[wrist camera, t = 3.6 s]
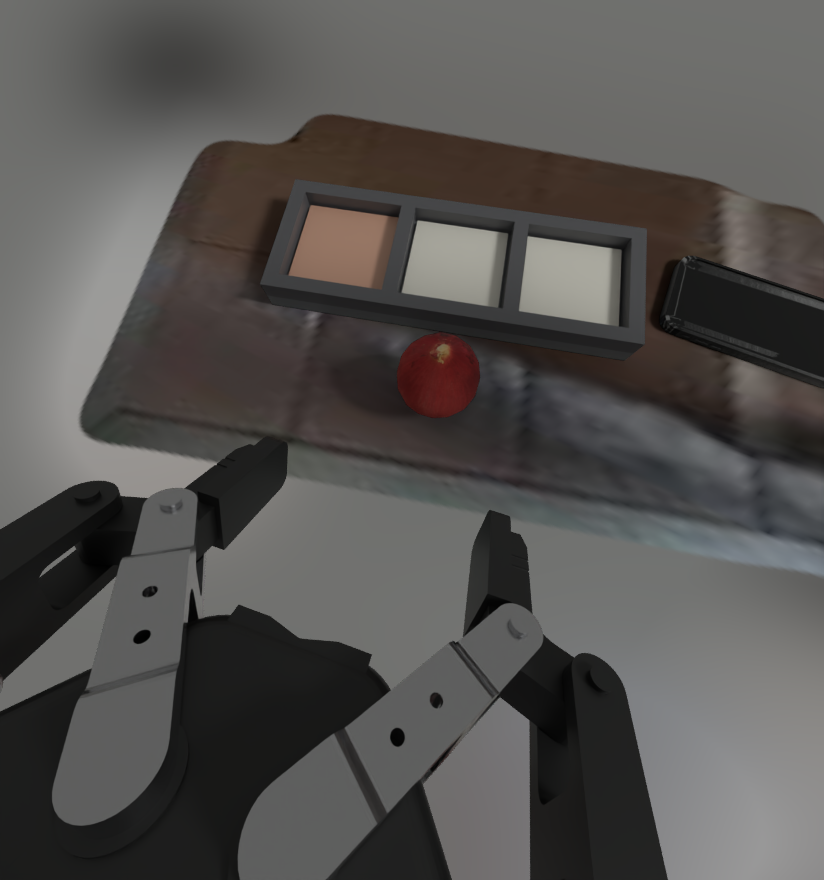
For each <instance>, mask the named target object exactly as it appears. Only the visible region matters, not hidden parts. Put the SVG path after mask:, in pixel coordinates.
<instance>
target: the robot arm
mask: <svg viewBox="0 0 824 880" xmlns="http://www.w3.org/2000/svg"><path fill="white" fill-rule="evenodd" d="M287 456H288V445H287V443H286V442H284V441H281V440H278V439H275V438H272V437H268V436H267V437H264V438H263V439H262V440H261V441H259V442H258V443H257V444H256V445H254V446H253V445H250V444H249V445H246V446H244V447H241V448H238V449H236V450H234V451H233V452H232V453H230V454H229V455H228V456H226V458H225V459H222V460H221V461H220V462H219V463H217V465H215V466H213V467H212V468H211V469H209V470H208V471H207V472H205V473H204V474H203V475H201V476H200V477H199V478H197V479H196V480H195V481H194V482H192V483H191V484H190V485H188V486H187V487H186V488H184V489H183V488H172V489H166V490H163V491H160V492H158V493H155V494H153V495H152V496H151V497H149V498H137V497H125V496H120V493H119V490H118V487H117V486H116V485H115V484H113V483H111V482H107V481H90V482H85V483H81V484H78V485H75V486H73V487H71V488H68V489H67V490H65V491H63V492H62V493H60V494H58V495H57V496H55V497H53V498H52V499H50V500H48V501H47V502H45V503H43V504H42V505H40V506H38V507H37V508H35V509H34V510H32V511H30V512H28V513H27V514H25V515H24V516H22V517H21V518H19V519H17V520H15V521H14V522H12V523H10V524H9V525H7V526H5V527H4V528H2V529H0V693H1V690H2V687H3V680H4V679H5V678H6V677H7V676H9V675H10V674H11V673H12V672H13V671H14V670H15V669H16V668H17V667H18V666H19V665H20V664H22V663H23V662H24V661H25V660H26V659H27V658H28V657H29V656H30V655H31V654H32V653H33V652H35V650H37V649H38V648H39V647H40V646H41V645H42V644H43V643H44V642H45V641H46V640H48V639H49V638H50V637H51V636H52V635H53V634H54V633H55V632H56V631H57V630H58V629H59V628H60V627H62V626H63V625H64V624H65V623H66V622H67V621H68V620H69V619H70V618H71V617H72V616H74V614H76V613H77V612H78V611H79V610H80V609H81V608H82V607H83V606H84V605H85V604H86V603H88V602H89V601H90V600H91V599H92V598H93V597H94V596H95V595H96V594H97V593H98V592H99V591H101V590H102V589H103V588H104V587H105V586H106V585H107V584H108V583H109V582H110V581H111V580H112V579H114V577H116V576H117V577H116V581H115V584H114V588H113V592H112V596H111V599H110V603H109V607H108V610H107V614H106V618H105V622H104V626H103V629H102V633H101V637H100V641H99V644H98V648H97V652H96V656H95V659H94V663H93V667H92V669H89V670H87V671H85V672H83V673H81V674H78V675H76V676H74V677H72V678H70V679H68V680H66V681H64V682H62V683H60V684H57V685H55V686H53V687H51V688H49V689H47V690H45V691H43V692H41V693H39V694H36V695H34V696H32V697H30V698H28V699H26V700H24V701H22V702H20V703H18V704H15V705H13V706H11V707H9V708H7V709H5V710H3V711H0V880H452V878H451V875H450V872H449V869H448V865H447V862H446V859H445V856H444V852H443V849H442V846H441V842H440V839H439V836H438V833H437V830H436V826H435V823H434V820H433V816H432V813H431V810H430V807H429V803H428V800H427V797H426V794H425V790H424V787H423V784H424V783H425V782H426V781H427V779H428V778H429V777H430V776H431V775H432V774H433V773H434V772H435V771H436V769H437V768H438V767H439V766H440V765H441V763H443V762H444V760H445V759H446V758H447V757H448V756H449V754H450V753H451V752H452V751H453V750H454V749H455V747H456V746H457V745H458V744H459V743H460V742H461V741H462V739H463V738H464V737H465V736H466V735H467V734H468V732H469V731H470V730H471V729H472V728H473V727H474V726H475V725H476V724H477V723H478V721H479V720H480V719H481V718H482V717H483V716H484V715H485V714H486V712H487V711H488V710H489V709H490V708H491V707H492V706H493V705H494V703H495V702H496V701H497V700H498V699H499V698H500V697H501V698H502V699H503V700H504V701H506V702H507V703H508V704H510V705H511V706H512V707H513V708H515V709H516V710H517V711H518V712H520V713H521V714H522V715H524V716H525V717H526V718H527V719H529V720H530V880H668V879H667V874H666V870H665V865H664V861H663V856H662V852H661V847H660V843H659V838H658V834H657V830H656V825H655V820H654V816H653V812H652V807H651V803H650V798H649V794H648V790H647V785H646V780H645V776H644V772H643V767H642V763H641V758H640V754H639V749H638V745H637V740H636V736H635V732H634V727H633V722H632V718H631V713H630V709H629V705H628V700H627V696H626V692H625V688H624V686H623V684H622V682H621V680H620V678H619V677H618V675H617V674H616V672H615V671H614V670H613V669H612V668H611V667H610V666H609V665H608V664H607V663H606V662H605V661H603V660H602V659H600V658H598V657H597V656H595V655H592V654H588V653H581V654H578V655H577V656H576V657H575V658H574V657H572V656H571V655H569V654H568V653H567V652H565V651H563V650H562V649H561V648H559V647H558V646H556V645H555V644H554V643H552V642H551V641H550V640H549V639H548V638H546V637H545V636H544V634H543V632H542V628H541V626H540V624H539V622H538V621H537V619H536V618H535V616H534V615H533V614H532V604H531V593H530V579H529V573H528V571H529V566H528V562H527V561H528V554H527V547H526V545H525V543H524V541H523V539H522V537H521V535H520V534H516V533H513V532H511V521H510V516H507V515H504V514H501V513H498V512H495V511H492V510H489V511H488V513H487V515H486V517H485V520H484V522H483V524H482V526H481V528H480V530H479V532H478V535H477V537H476V539H475V542H474V545H473V549H472V555H471V564H470V574H469V584H468V594H467V603H466V613H465V623H464V632H463V638H462V639H461V640H459V641H458V642H456V643H455V642H454V641H452V642H450V643H448V644H447V645H445V646H444V647H443V648H442V649H440V650H439V651H438V652H437V653H436V654H435V655H433V656H432V657H431V658H430V659H428V660H427V661H426V662H425V663H423V664H422V665H421V666H420V667H419V668H417V669H416V670H415V671H414V672H413V673H411V674H410V675H409V676H408V677H406V678H405V679H404V680H403V681H402V682H400V683H399V684H398V685H397V686H396V687H394V688H393V689H392V690H390V688H389V686H388V685H387V683H386V682H385V681H384V679H383V678H382V677H381V676H380V675H379V674H378V673H377V672H376V671H375V670H374V669H373V668H371V667H370V666H369V662H370V659H371V656H372V655H371V654H369V653H366V652H364V651H361V650H358V649H356V648H353V647H350V646H347V645H345V644H342V643H339V642H333V641H321V640H308V639H300V638H298V637H297V636H295V635H294V634H293V633H291V632H290V631H289V630H287V629H286V628H285V627H283V626H282V625H281V624H280V623H278V622H277V621H275V620H274V619H273V618H271V617H270V616H268V615H265V614H262V613H260V612H257V611H254V610H252V609H249V608H246V607H243V606H241V605H238V606H237V608H236V609H235V610H234V612H233V613H232V614H231V615H216V616H209V617H204V583H205V580H204V579H205V562H206V560H205V559H206V555H205V552H206V551H207V550H208V549H209V548H210V547H211V546H215V547H217V548H220V549H223V550H224V549H225V548H226V547H227V546H228V545H229V544H230V543H231V542H232V541H233V540H234V538H236V536H237V535H238V534H239V533H240V532H241V531H242V530H243V529H244V528H245V527H246V526H247V525H248V523H249V522H250V521H251V520H252V519H253V518H254V517H255V516H256V515H257V514H258V513H259V511H260V510H261V509H262V508H263V507H264V506H265V505H266V504H267V503H268V502H269V501H270V499H271V498H272V497H273V496H274V495H275V494H276V493H277V492H278V491H279V490H280V488H281V487H282V486H283V484H284V482H285V479H286V476H287ZM73 546H75V547H76V550H75V551H74V552H72V553H71V554H70V555H69V556H67V557H66V558H65V559H63V560H62V561H61V562H59V563H58V564H57V565H56V566H54V567H53V568H52V569H50V570H49V571H48V572H46V573H45V574H44V575H42V576H41V577H40V575H41V573H42V571H43V570H44V569H45V568H46V567H47V566H48V565H49V564H51V563H52V562H53V561H54V560H56V559H57V558H59V557H60V556H61V555H62V554H63V553H65V552H66V551H68V550H69V549H70V548H72V547H73ZM39 577H40V578H39Z"/></svg>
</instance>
